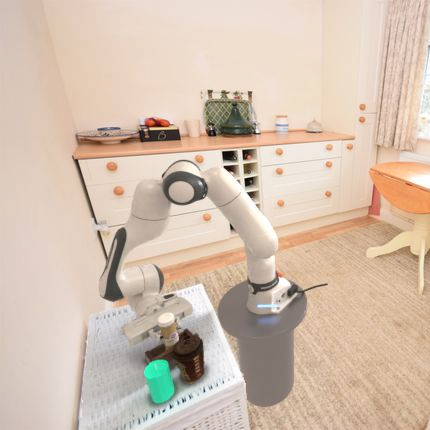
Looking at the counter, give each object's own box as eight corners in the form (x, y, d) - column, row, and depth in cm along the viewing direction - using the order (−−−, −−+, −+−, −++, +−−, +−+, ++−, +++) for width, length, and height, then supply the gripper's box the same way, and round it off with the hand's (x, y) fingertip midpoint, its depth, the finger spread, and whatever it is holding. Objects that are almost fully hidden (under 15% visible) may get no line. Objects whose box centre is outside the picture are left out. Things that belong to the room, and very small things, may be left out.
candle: (147, 395, 84) (138, 366, 79) (167, 379, 88) (160, 351, 84) (158, 407, 81) (149, 378, 76) (178, 391, 85) (171, 362, 81)
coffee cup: (190, 359, 95) (184, 329, 90) (213, 364, 94) (208, 334, 88) (172, 383, 87) (164, 352, 82) (197, 389, 86) (191, 358, 81)
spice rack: (188, 335, 104) (185, 320, 101) (201, 349, 99) (198, 334, 96) (146, 359, 94) (141, 344, 92) (158, 377, 89) (153, 361, 86)
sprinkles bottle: (173, 355, 93) (165, 324, 88) (162, 351, 94) (153, 320, 89) (184, 344, 97) (177, 313, 92) (172, 341, 98) (165, 310, 93)
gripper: (115, 320, 92) (131, 345, 84) (180, 290, 106) (199, 308, 98) (120, 335, 94) (136, 360, 86) (183, 303, 109) (201, 322, 100)
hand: (170, 332), depth 92 cm, fingers closed on sprinkles bottle, 4 cm apart
